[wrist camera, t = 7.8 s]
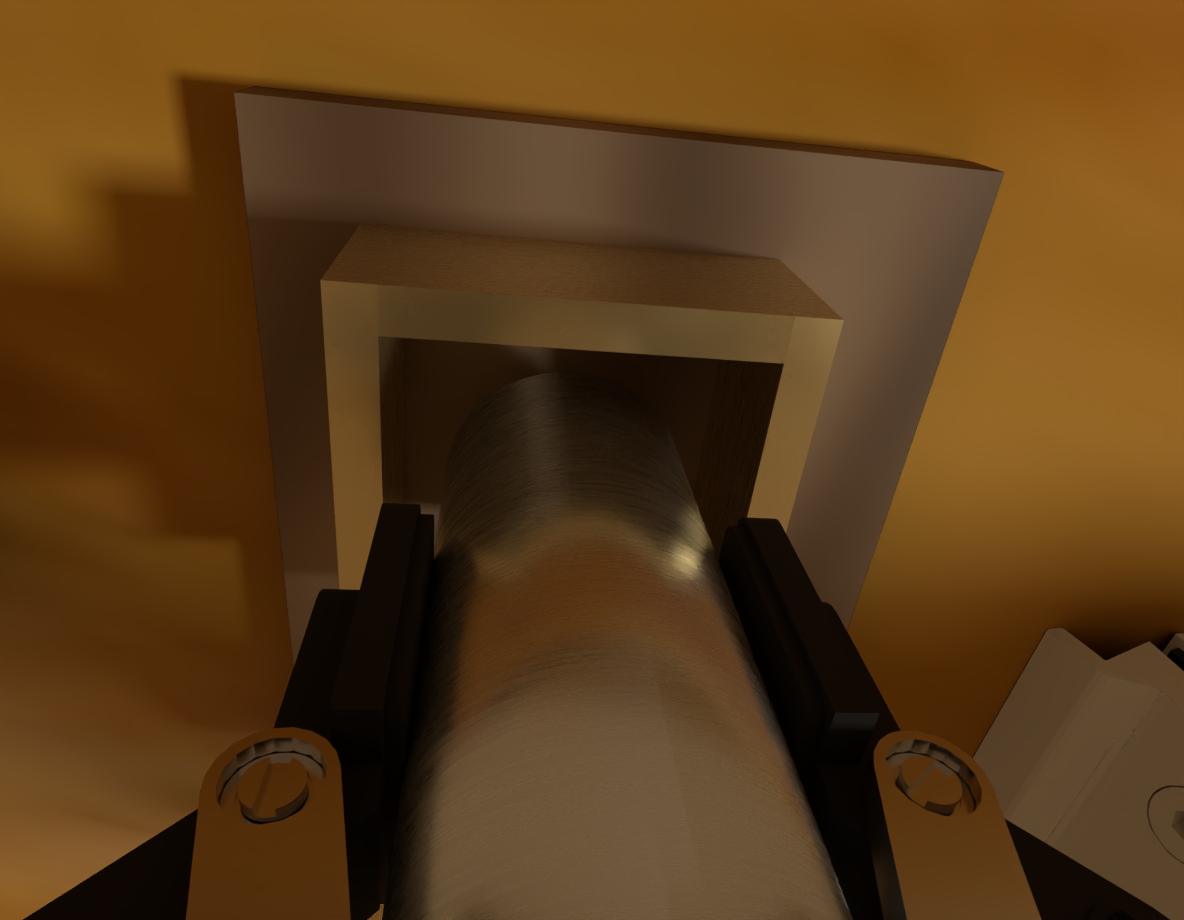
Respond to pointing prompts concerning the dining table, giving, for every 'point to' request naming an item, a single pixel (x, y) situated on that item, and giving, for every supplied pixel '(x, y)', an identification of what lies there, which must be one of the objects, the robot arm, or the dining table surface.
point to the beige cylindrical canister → (591, 690)
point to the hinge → (1098, 762)
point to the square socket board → (572, 321)
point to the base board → (613, 217)
